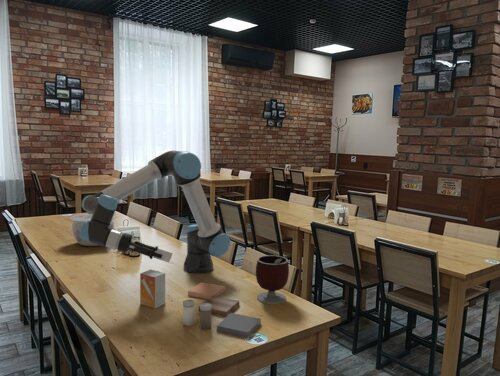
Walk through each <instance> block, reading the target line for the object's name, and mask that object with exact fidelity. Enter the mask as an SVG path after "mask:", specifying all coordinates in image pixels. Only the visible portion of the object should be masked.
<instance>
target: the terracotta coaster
mask: <svg viewBox="0 0 500 376" xmlns="http://www.w3.org/2000/svg"><path fill="white" fill-rule="evenodd" d="M224 292H226V286H224V285H219V284H215V283H207V282H203V281H202V282H200V283H198V284H196V285H195V286H193V287H192V288H190V289H189V290H187V296H189V297H194V298H199V299H203V300H204V299H205V300H208V299H209V298H210V297H212V296H217V297H220V296H221V295H222V294H223V293H224Z"/></svg>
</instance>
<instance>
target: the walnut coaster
mask: <svg viewBox="0 0 500 376" xmlns="http://www.w3.org/2000/svg"><path fill="white" fill-rule="evenodd" d="M203 303H210V304H211V305H212V309H211V315H216V316H222V317H224V318H226V317H227V316H228V315H229V314H230V313H233V311H234V310H236V308H238V307H239V306H240V300H238V299H233V298H227V297H222V296H218V297H217V296H212V297H210V298H209V299H205V301H203ZM198 312H200V305H198Z"/></svg>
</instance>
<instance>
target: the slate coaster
mask: <svg viewBox="0 0 500 376" xmlns="http://www.w3.org/2000/svg"><path fill="white" fill-rule="evenodd" d="M261 321H262V319H261V318H260V317H254V316H249V315H244V314H239V313H234V312H231V313H230V314H229V315H228V316H227V317H224V318H223V319H222V320H221V322H218V324H217V325H216V332H218V333H224V334H229V335H233V336H236V337H241V338H247V339H248V338H249V337H251V336H252V334H253V333H254V332H255V331H256V330H257V329H258V327H259V326H260V325H261Z"/></svg>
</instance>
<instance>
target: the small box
mask: <svg viewBox="0 0 500 376" xmlns="http://www.w3.org/2000/svg"><path fill="white" fill-rule="evenodd" d="M139 277H140V278H139V288H140V290H139V291H140V292H139V296H140V297H139V299H140V300H139V303H140V305H142V306H147V307H149V308H152V309H157V308H159V307H162V306H163V305H165V304H166V272H163V271H158V270H155V269H154V270H153V269H148V270H146V271H143V272H141V273H140V274H139Z"/></svg>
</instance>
